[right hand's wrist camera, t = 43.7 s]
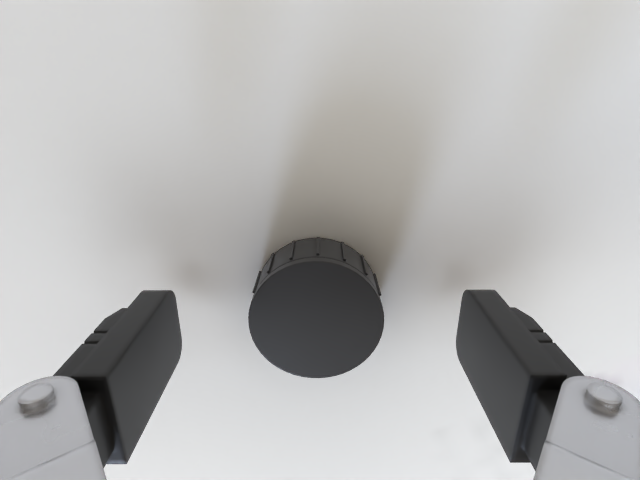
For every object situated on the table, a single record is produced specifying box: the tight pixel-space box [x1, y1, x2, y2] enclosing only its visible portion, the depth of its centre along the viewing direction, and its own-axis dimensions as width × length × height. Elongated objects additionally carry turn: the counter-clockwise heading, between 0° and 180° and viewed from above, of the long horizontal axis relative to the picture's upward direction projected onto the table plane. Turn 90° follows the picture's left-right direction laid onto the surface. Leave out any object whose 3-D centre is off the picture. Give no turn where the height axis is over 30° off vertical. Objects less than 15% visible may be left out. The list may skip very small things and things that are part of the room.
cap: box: [248, 237, 384, 378], centre depth 13 cm, size 4×4×2 cm
